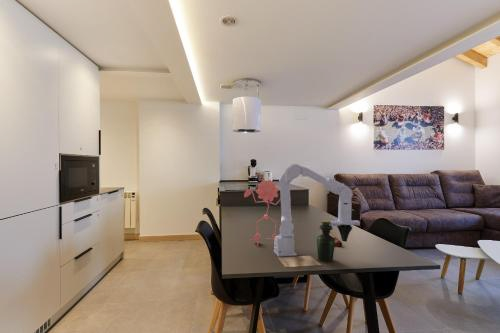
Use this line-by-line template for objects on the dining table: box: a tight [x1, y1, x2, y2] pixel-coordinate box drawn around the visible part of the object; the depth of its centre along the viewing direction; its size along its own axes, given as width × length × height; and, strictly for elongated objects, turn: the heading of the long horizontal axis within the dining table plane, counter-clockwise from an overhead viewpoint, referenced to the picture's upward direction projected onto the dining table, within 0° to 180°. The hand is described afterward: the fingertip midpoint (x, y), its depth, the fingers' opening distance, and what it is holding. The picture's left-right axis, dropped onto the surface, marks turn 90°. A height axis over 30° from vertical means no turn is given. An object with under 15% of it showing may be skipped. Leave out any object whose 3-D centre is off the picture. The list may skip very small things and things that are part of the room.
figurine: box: [243, 179, 292, 246], centre depth 147 cm, size 15×26×35 cm, turn 84°
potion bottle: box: [316, 219, 335, 263], centre depth 121 cm, size 8×8×18 cm
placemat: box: [277, 255, 322, 269], centre depth 119 cm, size 16×11×1 cm
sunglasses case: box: [329, 231, 343, 248], centre depth 149 cm, size 18×7×7 cm
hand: (344, 240), depth 123 cm, fingers closed
